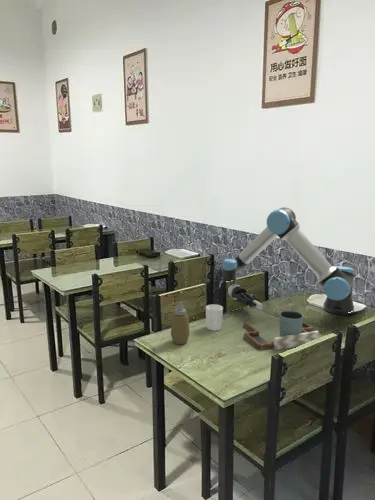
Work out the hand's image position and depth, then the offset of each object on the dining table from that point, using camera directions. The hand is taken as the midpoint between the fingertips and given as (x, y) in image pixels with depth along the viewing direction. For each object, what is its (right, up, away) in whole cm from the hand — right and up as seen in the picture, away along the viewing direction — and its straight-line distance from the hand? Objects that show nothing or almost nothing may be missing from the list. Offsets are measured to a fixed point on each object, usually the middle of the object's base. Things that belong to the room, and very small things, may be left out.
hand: (261, 307), depth 200 cm
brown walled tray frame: (+6, -10, -13) cm, 17 cm away
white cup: (-23, -9, -7) cm, 26 cm away
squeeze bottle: (-38, -12, -23) cm, 46 cm away
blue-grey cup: (+9, -12, -19) cm, 24 cm away
